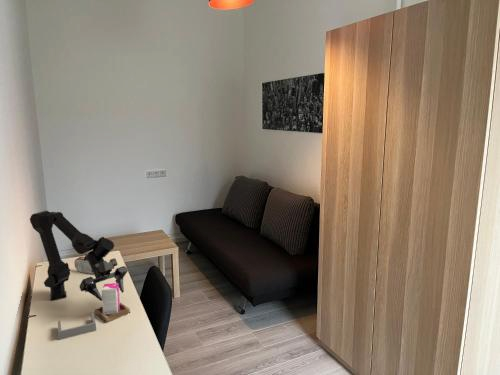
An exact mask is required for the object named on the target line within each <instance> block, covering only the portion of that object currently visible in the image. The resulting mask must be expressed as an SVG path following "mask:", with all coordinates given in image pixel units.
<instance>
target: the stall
mask: <svg viewBox="0 0 500 375" xmlns="http://www.w3.org/2000/svg"><path fill="white" fill-rule="evenodd" d="M90 316H91V323H90V322H89V323H87V324H82V325H79V326H75V327H70V328H67V329H62V323H61V320H57V334H58V340H64V339H68V338H72V337H77V336H80V335H83V334H84V335H85V334H88V333H91V332H96V331H97V324H96V319H95V312H91V313H90Z"/></svg>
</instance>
